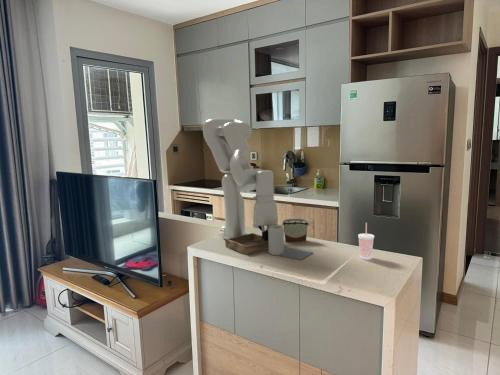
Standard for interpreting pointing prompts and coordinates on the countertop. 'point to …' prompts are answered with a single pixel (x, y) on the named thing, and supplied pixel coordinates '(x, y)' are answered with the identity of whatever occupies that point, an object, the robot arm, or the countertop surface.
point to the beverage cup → (365, 245)
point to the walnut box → (236, 241)
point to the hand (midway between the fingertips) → (265, 240)
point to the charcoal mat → (296, 254)
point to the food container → (295, 230)
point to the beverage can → (276, 239)
